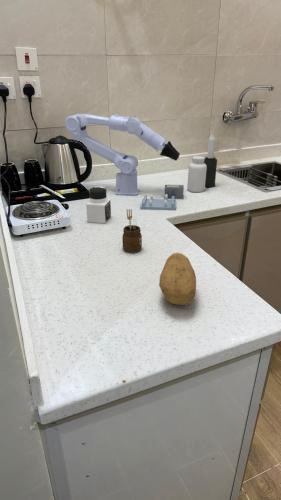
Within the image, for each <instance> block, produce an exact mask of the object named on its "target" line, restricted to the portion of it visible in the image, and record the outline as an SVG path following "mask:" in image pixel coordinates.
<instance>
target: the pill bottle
mask: <svg viewBox="0 0 281 500" xmlns="http://www.w3.org/2000/svg"><path fill="white" fill-rule="evenodd" d="M205 158H206V157H204V156H200V155H195V156H192V161H191V162H190V163H189V164H188V172H187V186H186V187H187V191H188V192H190V193H191V192H192V193H202V192H205V189H206V188H205V181H206V170H207V166H206V164H205V163H204V159H205Z"/></svg>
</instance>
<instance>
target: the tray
mask: <svg viewBox="0 0 281 500" xmlns="http://www.w3.org/2000/svg"><path fill="white" fill-rule="evenodd" d="M164 194H165V193H164ZM147 197H148V195H146V194H145V195H144V196H143V198H142V199H141V203H140V209H139V210H151V211H152V210H153V211H154V210H155V211H160V210H161V211H176V208H177V207H176V206H177V199H174V196H172V199H168V195H167V194H165V199H164V198H161V199H160V198H154V194H153V193H151V194H150V198H147Z"/></svg>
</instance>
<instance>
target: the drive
mask: <svg viewBox="0 0 281 500" xmlns="http://www.w3.org/2000/svg"><path fill="white" fill-rule="evenodd" d="M184 190H185V189H184V184H164V195H163V196H164V197H163V199H165V194H167V195H168V199H172V196H174V200H184Z"/></svg>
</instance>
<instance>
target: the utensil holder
mask: <svg viewBox="0 0 281 500" xmlns="http://www.w3.org/2000/svg"><path fill="white" fill-rule="evenodd" d="M132 212H133V210H132V208H126V218H127V220H129V221H128V223H129V224H128V225H125V226H124V227H123V230H122V231H123V234H122V236H121V239H122V249H123V251H125V252H126V253H130V254H135V253H139V252H140V251H141V250H142V248H143V247H142V246H143V243H142V242H143V238H142V237H143V236H142V233H141V231H142V230H141V227H140V226H139V225H137V219H136V218H135V217H133V213H132ZM132 222H135V223H133V224H132Z"/></svg>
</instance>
